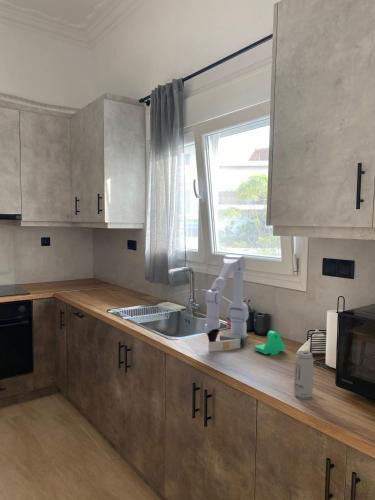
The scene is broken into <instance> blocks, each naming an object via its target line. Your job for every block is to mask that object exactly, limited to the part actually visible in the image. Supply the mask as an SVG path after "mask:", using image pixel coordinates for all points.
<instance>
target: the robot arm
mask: <svg viewBox="0 0 375 500" xmlns="http://www.w3.org/2000/svg"><path fill="white" fill-rule="evenodd" d="M222 265H223V267H222V269H221V271H220V274H219V276H218V277H217V278H214V279H215V280H214V281H213V283H212V285H211V288H209V289H208V290H207V291H206V292H205V294H204V295H205V296H204V301H205V306H206V323H205V324H204V325H203V326H204V329H203V332H204V334H206V336H207V339H208V343H209V342H214V341H217V337H218V334H219V333H220V327H222V326H221V322H220V304H221V302H222V300H223V295H224V294H223V293H224V291H225V288H226V286H227V279H228V278H229V277H230V274H231V273H233V274H232V275H233V277H232V302H231V303H229V305H228V309H227V317H228V319H229V320H230V333H232V334H238V335H244V338H245V339H246V338H247V337H248V336H249V335H248V334H247V327H248V326H247V322H246V321H247V320H248V319H249V316H250V315H249V313H250V312H249V307H248V305H247V304H246V303H244V300H243V299H244V296H243V295H244V294H243V293H244V272H245V271H246V258H245V256H243V255H231V254H226V255H224V257H223V260H222Z"/></svg>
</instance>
